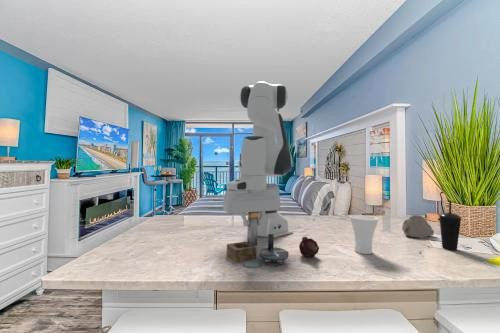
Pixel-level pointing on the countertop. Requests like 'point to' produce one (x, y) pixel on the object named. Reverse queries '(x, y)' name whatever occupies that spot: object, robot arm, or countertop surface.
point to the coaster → (252, 264)
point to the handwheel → (273, 251)
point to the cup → (363, 232)
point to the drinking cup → (450, 229)
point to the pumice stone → (417, 227)
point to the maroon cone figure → (308, 247)
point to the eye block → (241, 251)
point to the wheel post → (274, 262)
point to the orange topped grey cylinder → (252, 229)
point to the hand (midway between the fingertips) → (252, 225)
